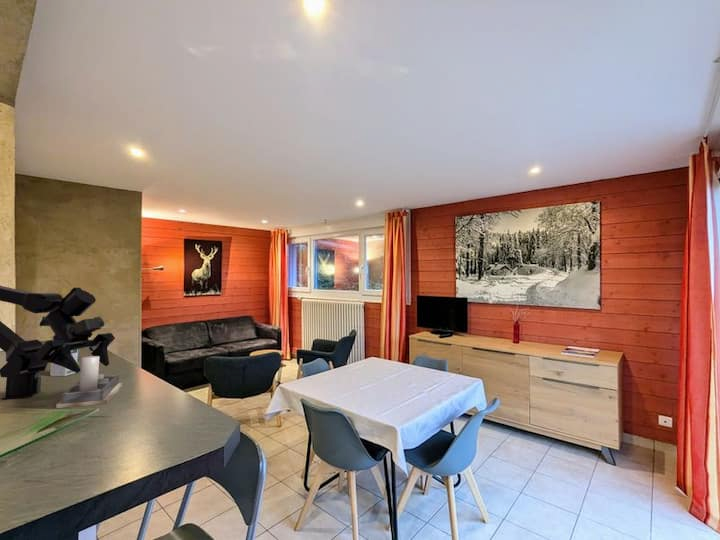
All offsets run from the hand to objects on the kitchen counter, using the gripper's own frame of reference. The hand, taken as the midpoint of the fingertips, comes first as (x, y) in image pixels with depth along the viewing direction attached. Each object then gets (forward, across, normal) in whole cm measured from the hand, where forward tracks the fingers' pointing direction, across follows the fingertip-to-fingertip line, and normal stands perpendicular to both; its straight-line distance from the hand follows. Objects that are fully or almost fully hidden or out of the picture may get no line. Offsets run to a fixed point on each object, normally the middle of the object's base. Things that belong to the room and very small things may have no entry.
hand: (93, 368), depth 98 cm
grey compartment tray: (+4, +4, +9) cm, 11 cm away
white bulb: (+5, 0, +7) cm, 8 cm away
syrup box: (-19, +21, +32) cm, 43 cm away
